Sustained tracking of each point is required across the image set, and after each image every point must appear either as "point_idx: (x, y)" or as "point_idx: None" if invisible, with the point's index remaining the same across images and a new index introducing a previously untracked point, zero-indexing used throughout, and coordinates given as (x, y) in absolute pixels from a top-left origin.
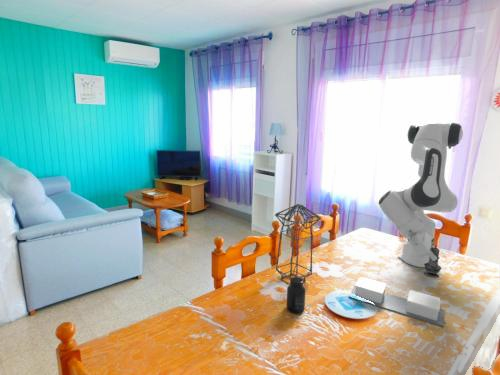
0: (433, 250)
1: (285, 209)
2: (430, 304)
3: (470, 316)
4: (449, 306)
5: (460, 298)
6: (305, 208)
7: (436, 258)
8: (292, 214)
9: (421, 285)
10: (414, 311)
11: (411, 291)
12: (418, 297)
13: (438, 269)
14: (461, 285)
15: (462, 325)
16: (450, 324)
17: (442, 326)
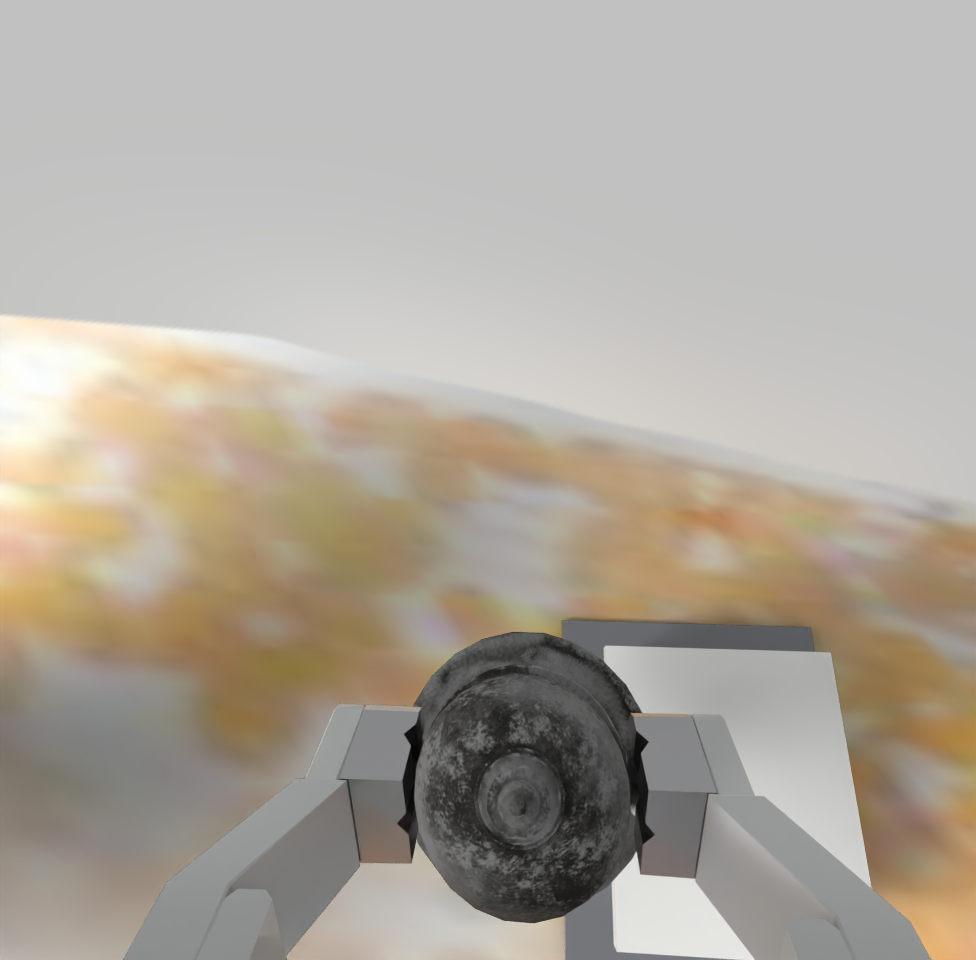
0: (619, 841)
1: None
2: (791, 728)
3: (533, 468)
4: (470, 583)
5: (301, 512)
6: None
7: (720, 729)
8: None
9: (200, 799)
10: None
11: (642, 931)
12: None
13: (612, 673)
14: (78, 498)
15: (687, 515)
16: (730, 583)
17: (808, 632)
